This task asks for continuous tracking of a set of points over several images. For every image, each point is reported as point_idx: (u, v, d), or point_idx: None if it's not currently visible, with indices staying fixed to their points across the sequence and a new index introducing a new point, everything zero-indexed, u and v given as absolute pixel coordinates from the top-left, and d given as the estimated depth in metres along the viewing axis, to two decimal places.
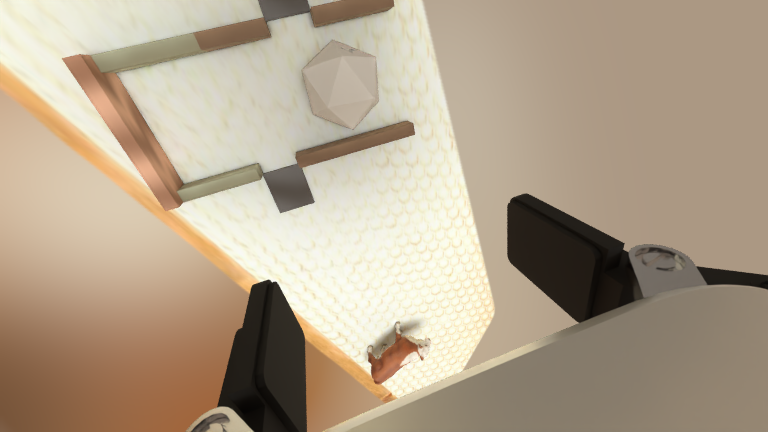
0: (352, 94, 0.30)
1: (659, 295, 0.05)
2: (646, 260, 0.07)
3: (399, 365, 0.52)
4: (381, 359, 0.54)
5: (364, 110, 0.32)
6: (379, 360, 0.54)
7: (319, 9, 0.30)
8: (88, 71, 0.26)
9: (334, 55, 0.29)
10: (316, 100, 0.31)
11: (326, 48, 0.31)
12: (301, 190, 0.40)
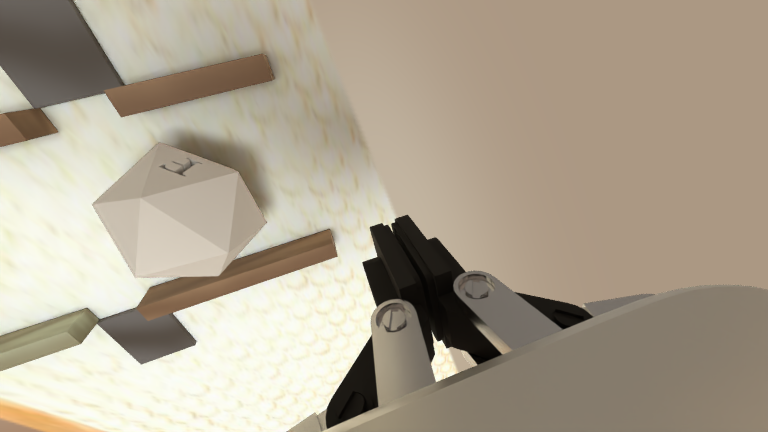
0: (182, 252, 0.16)
1: (659, 295, 0.05)
2: (470, 292, 0.08)
3: None
4: None
5: (221, 263, 0.18)
6: None
7: (122, 93, 0.16)
8: None
9: (135, 190, 0.15)
10: None
11: (141, 161, 0.17)
12: (169, 334, 0.27)
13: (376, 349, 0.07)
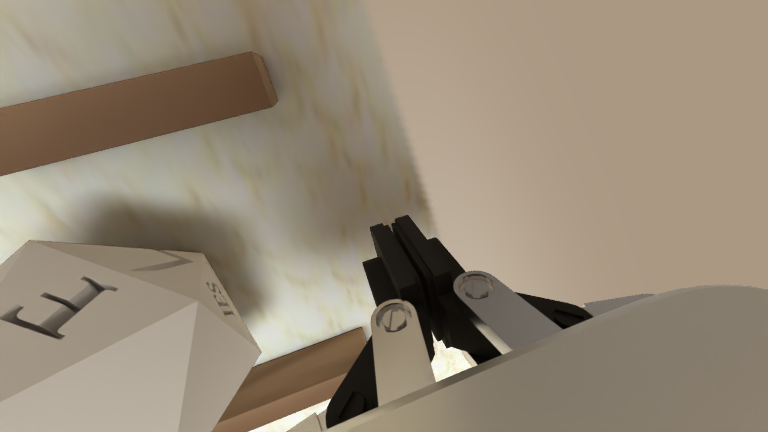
0: None
1: (659, 295, 0.05)
2: (470, 292, 0.08)
3: None
4: None
5: None
6: None
7: None
8: None
9: None
10: None
11: None
12: None
13: (376, 349, 0.07)
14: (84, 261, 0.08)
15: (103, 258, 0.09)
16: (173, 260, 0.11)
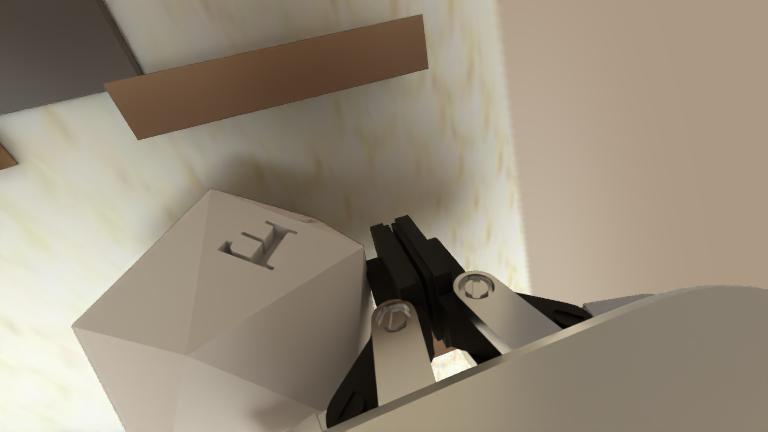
0: None
1: (659, 295, 0.05)
2: (469, 292, 0.08)
3: None
4: None
5: None
6: None
7: (143, 91, 0.08)
8: None
9: (169, 319, 0.06)
10: None
11: (178, 232, 0.08)
12: None
13: (376, 349, 0.07)
14: (261, 208, 0.09)
15: (268, 208, 0.09)
16: (307, 219, 0.11)
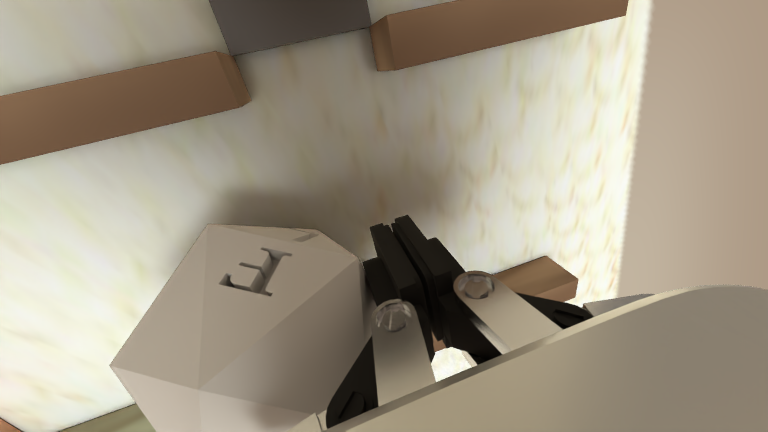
0: None
1: (659, 295, 0.05)
2: (469, 292, 0.08)
3: None
4: None
5: None
6: None
7: (413, 23, 0.09)
8: None
9: (183, 355, 0.07)
10: None
11: (184, 270, 0.09)
12: None
13: (376, 349, 0.07)
14: (256, 235, 0.09)
15: (264, 233, 0.10)
16: (306, 234, 0.12)
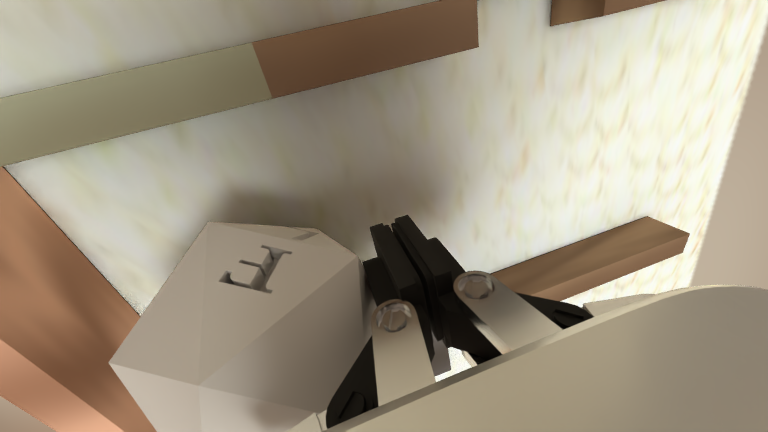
0: None
1: (659, 295, 0.05)
2: (469, 292, 0.08)
3: None
4: None
5: None
6: None
7: None
8: None
9: (183, 352, 0.07)
10: None
11: (184, 267, 0.09)
12: None
13: (376, 349, 0.07)
14: (256, 233, 0.09)
15: (264, 231, 0.10)
16: (306, 232, 0.12)
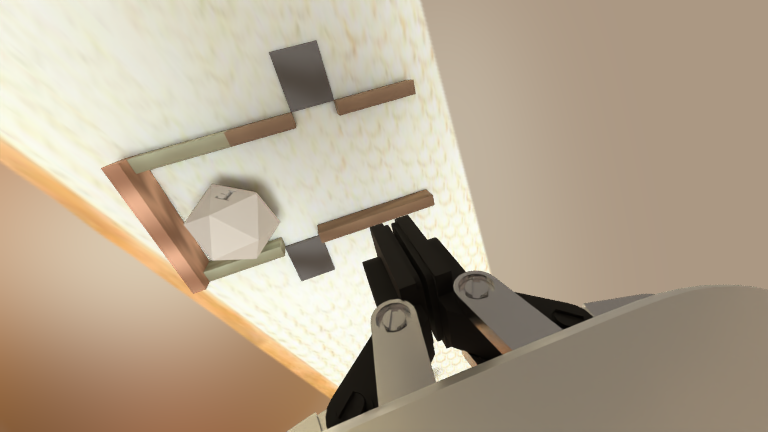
0: (234, 243, 0.29)
1: (659, 295, 0.05)
2: (469, 292, 0.08)
3: None
4: None
5: (256, 248, 0.31)
6: None
7: (343, 102, 0.31)
8: (125, 177, 0.27)
9: (205, 212, 0.28)
10: None
11: (204, 196, 0.30)
12: (322, 259, 0.41)
13: (376, 349, 0.07)
14: (226, 187, 0.30)
15: (229, 187, 0.31)
16: (246, 190, 0.33)
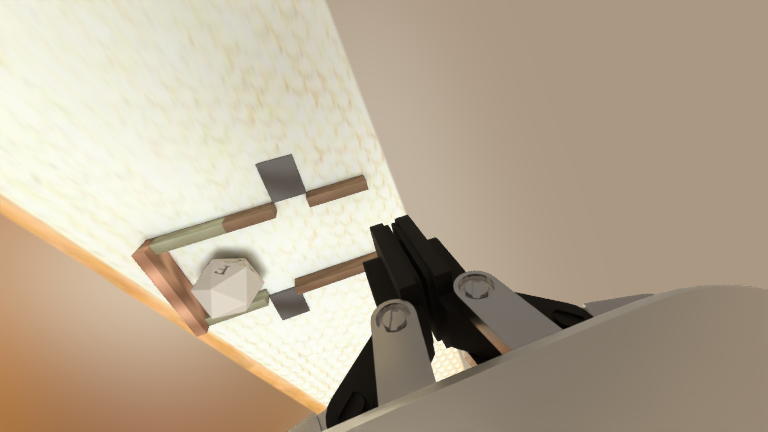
0: (228, 306, 0.39)
1: (659, 295, 0.05)
2: (470, 292, 0.08)
3: None
4: None
5: (245, 307, 0.41)
6: None
7: (312, 198, 0.41)
8: (148, 260, 0.37)
9: (207, 285, 0.38)
10: None
11: (206, 269, 0.40)
12: (299, 304, 0.51)
13: (376, 349, 0.07)
14: (223, 262, 0.41)
15: (225, 261, 0.41)
16: (238, 260, 0.43)
